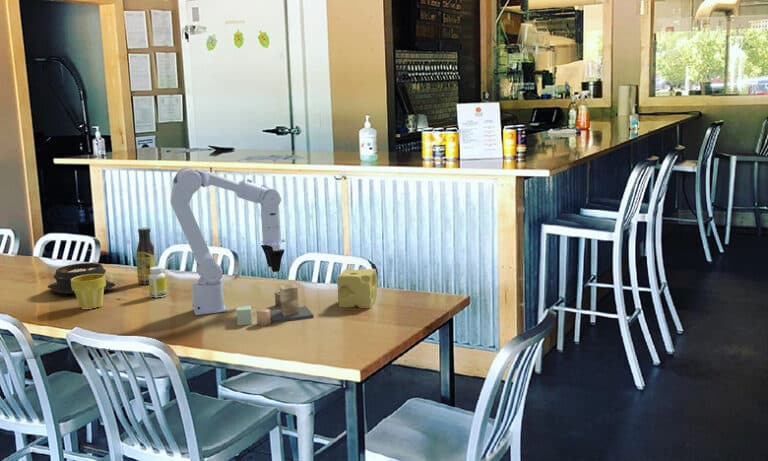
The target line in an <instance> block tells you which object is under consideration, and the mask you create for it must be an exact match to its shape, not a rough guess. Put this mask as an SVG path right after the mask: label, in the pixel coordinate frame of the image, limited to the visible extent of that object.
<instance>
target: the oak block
mask: <svg viewBox="0 0 768 461" xmlns="http://www.w3.org/2000/svg"><path fill="white" fill-rule="evenodd" d="M298 289H299V288H298V286H297V285H296V284H294V283H292V284H285V285H284V284H282V285H279V292H280V300H281V308H280V309H281V312H282V314H283V315H284V316H286V315H295V314H299V307H300V306H299V291H298Z"/></svg>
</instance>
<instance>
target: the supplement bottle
mask: <svg viewBox="0 0 768 461" xmlns="http://www.w3.org/2000/svg"><path fill="white" fill-rule="evenodd" d="M163 270H164V267H163V266H161V265H160V266H158V265H157V266H155V267H151V268H150V273H151V274H150V275H149V284H148V286H149V295H150V298H151V297H162V298H164V296H165V297H167V296H168V289H167V288H168V286H167V279H166V274H165V273H164V271H163ZM166 295H167V296H166Z"/></svg>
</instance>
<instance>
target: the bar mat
mask: <svg viewBox="0 0 768 461" xmlns="http://www.w3.org/2000/svg"><path fill="white" fill-rule="evenodd" d="M270 312H271V323H272V324H273V323H280V322H287V321H288V322H289V321H290V322H291V321H297V320H303V319H311V318H312V319H313V318H314V314H313V313H312V311H311V310H310V309H309V308H308V306H305V305H304V306H299V314H295V315H286V316H284V315H283V314H282V312H281V308H280V309H272V310H271V309H270Z"/></svg>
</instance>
